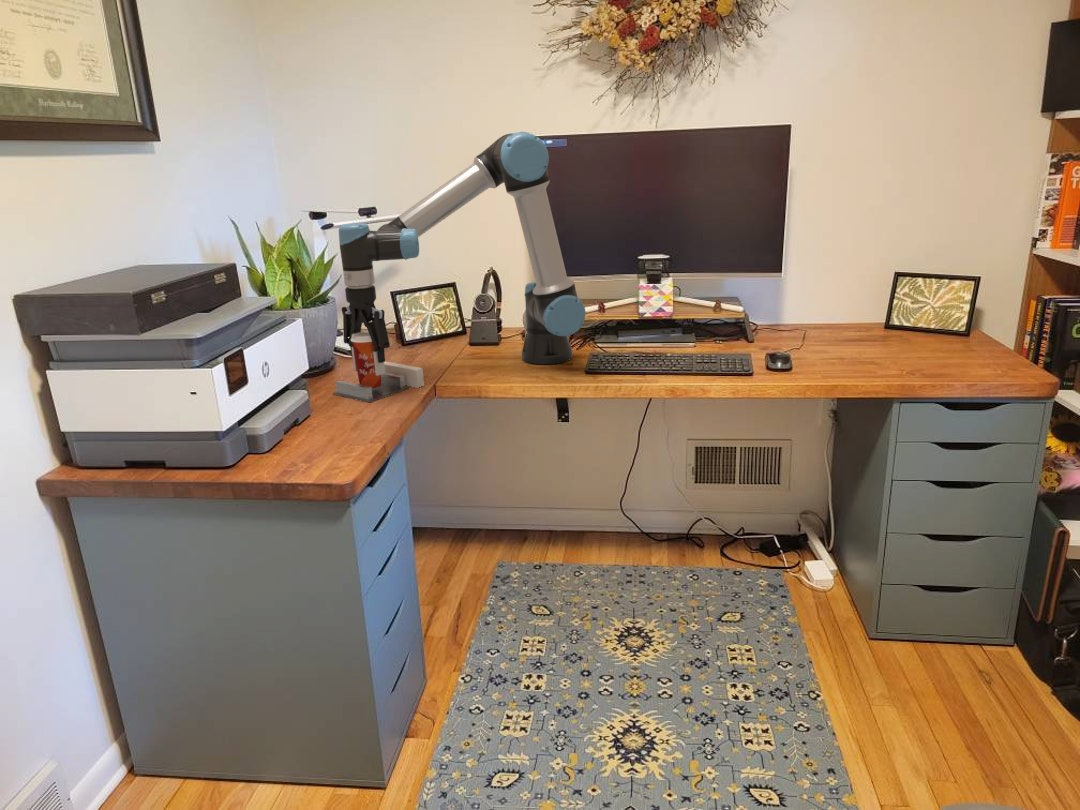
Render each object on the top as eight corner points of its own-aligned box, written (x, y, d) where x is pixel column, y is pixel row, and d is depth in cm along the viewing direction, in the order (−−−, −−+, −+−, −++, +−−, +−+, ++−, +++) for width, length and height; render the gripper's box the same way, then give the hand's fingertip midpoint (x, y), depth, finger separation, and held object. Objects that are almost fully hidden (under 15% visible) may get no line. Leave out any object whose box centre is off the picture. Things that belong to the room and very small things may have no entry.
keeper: (409, 388, 206) (407, 375, 205) (369, 402, 195) (368, 389, 194) (373, 381, 214) (371, 368, 213) (333, 394, 203) (331, 381, 202)
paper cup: (363, 391, 199) (357, 338, 194) (351, 385, 205) (345, 333, 200) (390, 385, 203) (385, 333, 199) (378, 379, 209) (373, 329, 205)
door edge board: (424, 385, 208) (422, 368, 206) (417, 388, 206) (416, 370, 204) (378, 376, 218) (376, 359, 216) (371, 378, 216) (369, 361, 214)
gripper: (321, 285, 199) (332, 370, 206) (376, 291, 187) (386, 381, 194) (344, 280, 204) (354, 363, 212) (399, 286, 193) (407, 373, 200)
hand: (369, 371), depth 203 cm, fingers closed on paper cup, 8 cm apart
